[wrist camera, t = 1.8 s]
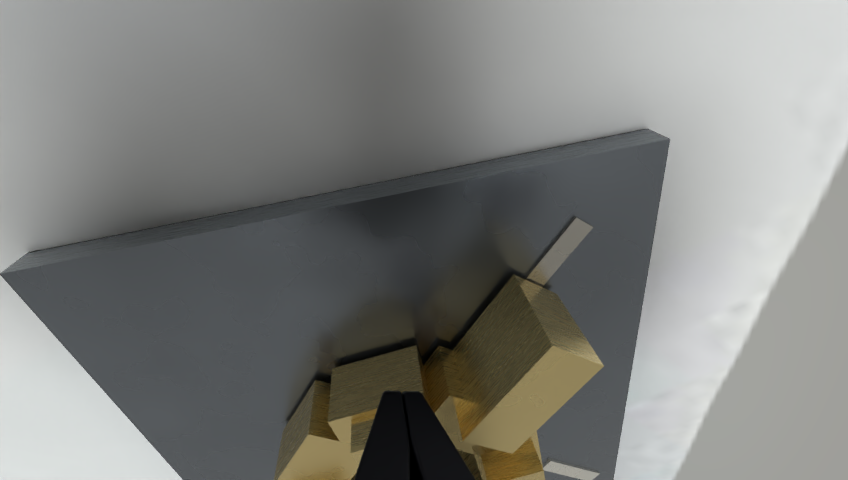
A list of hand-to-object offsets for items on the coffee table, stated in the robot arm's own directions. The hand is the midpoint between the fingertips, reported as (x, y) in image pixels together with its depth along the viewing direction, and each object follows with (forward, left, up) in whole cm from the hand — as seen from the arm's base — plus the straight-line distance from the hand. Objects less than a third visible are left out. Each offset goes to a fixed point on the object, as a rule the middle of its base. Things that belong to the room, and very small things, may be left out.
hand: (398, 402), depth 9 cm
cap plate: (-7, +1, -5) cm, 9 cm away
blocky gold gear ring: (-6, -1, -4) cm, 7 cm away
